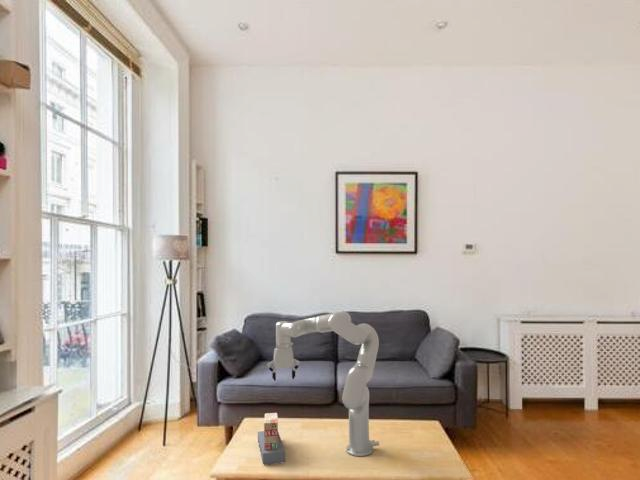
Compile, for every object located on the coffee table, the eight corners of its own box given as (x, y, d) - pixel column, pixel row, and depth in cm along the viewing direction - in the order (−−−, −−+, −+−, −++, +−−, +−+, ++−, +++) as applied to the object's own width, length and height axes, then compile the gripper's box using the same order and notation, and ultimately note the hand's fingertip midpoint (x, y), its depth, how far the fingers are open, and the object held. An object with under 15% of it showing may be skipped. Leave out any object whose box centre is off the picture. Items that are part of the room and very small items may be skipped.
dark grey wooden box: (277, 439, 220) (277, 429, 220) (285, 462, 194) (285, 450, 195) (257, 441, 217) (257, 431, 217) (263, 465, 192) (262, 453, 192)
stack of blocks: (265, 432, 217) (264, 407, 218) (277, 431, 218) (277, 406, 218) (264, 450, 196) (264, 422, 196) (278, 449, 196) (277, 421, 197)
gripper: (298, 343, 228) (298, 376, 227) (265, 345, 224) (266, 378, 223) (301, 345, 221) (301, 379, 220) (267, 348, 217) (268, 382, 216)
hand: (283, 379), depth 222 cm, fingers open, 9 cm apart
